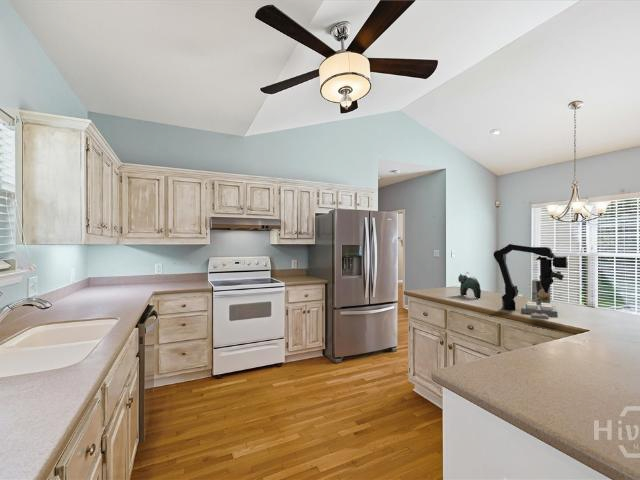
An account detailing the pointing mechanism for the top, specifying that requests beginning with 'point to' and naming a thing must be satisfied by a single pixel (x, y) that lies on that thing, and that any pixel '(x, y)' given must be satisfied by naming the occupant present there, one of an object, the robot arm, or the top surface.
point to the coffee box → (539, 293)
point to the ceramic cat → (469, 285)
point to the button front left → (532, 306)
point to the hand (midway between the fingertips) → (546, 292)
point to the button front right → (546, 307)
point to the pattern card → (539, 315)
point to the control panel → (539, 310)
